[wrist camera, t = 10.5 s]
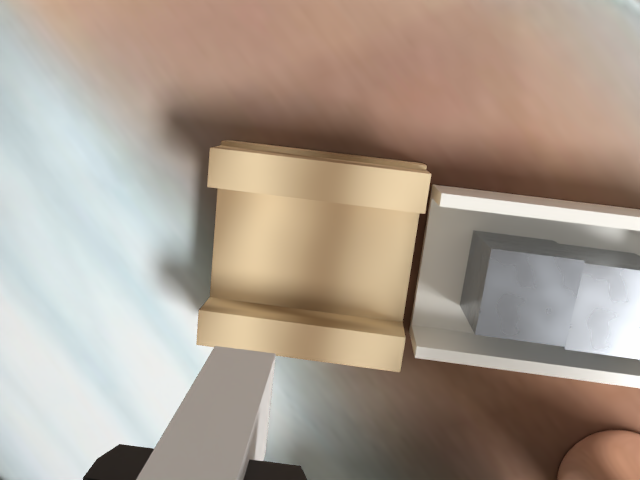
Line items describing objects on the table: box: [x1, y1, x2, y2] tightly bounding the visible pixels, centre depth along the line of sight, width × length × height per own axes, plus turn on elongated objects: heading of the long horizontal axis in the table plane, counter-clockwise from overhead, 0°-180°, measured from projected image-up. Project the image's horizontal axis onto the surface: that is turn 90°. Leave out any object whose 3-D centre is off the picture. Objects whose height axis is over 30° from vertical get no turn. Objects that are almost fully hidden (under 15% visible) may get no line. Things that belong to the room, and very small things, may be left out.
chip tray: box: [409, 184, 640, 388], centre depth 27 cm, size 12×8×3 cm, turn 84°
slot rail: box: [196, 140, 431, 372], centre depth 28 cm, size 10×10×4 cm
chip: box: [560, 244, 640, 359], centre depth 26 cm, size 4×4×4 cm
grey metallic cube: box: [460, 230, 585, 347], centre depth 26 cm, size 4×4×4 cm
